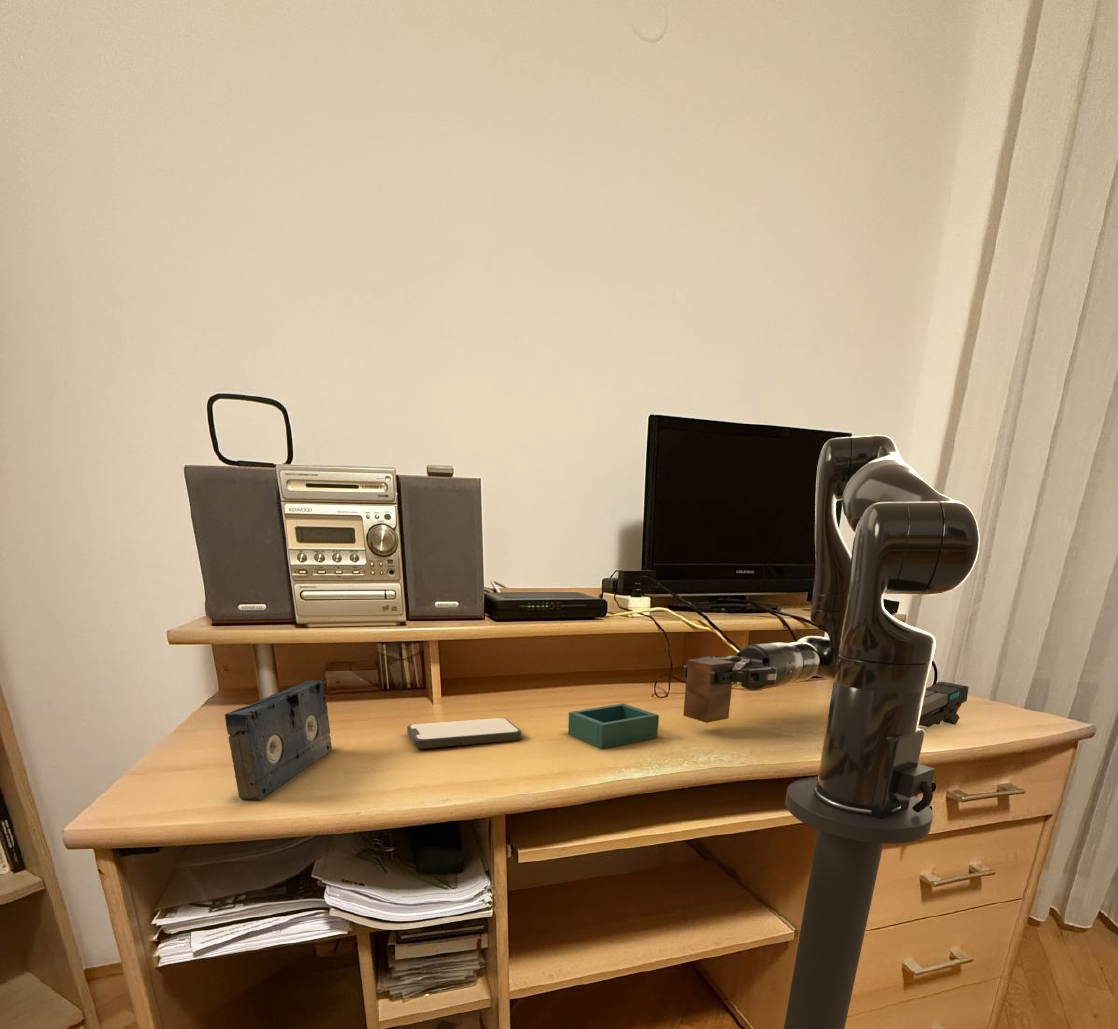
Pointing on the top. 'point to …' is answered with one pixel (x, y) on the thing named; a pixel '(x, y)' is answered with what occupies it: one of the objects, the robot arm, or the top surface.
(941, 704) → the gun
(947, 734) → the top surface
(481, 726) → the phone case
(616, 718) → the open box
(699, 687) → the brown block
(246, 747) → the vhs cassette tape
